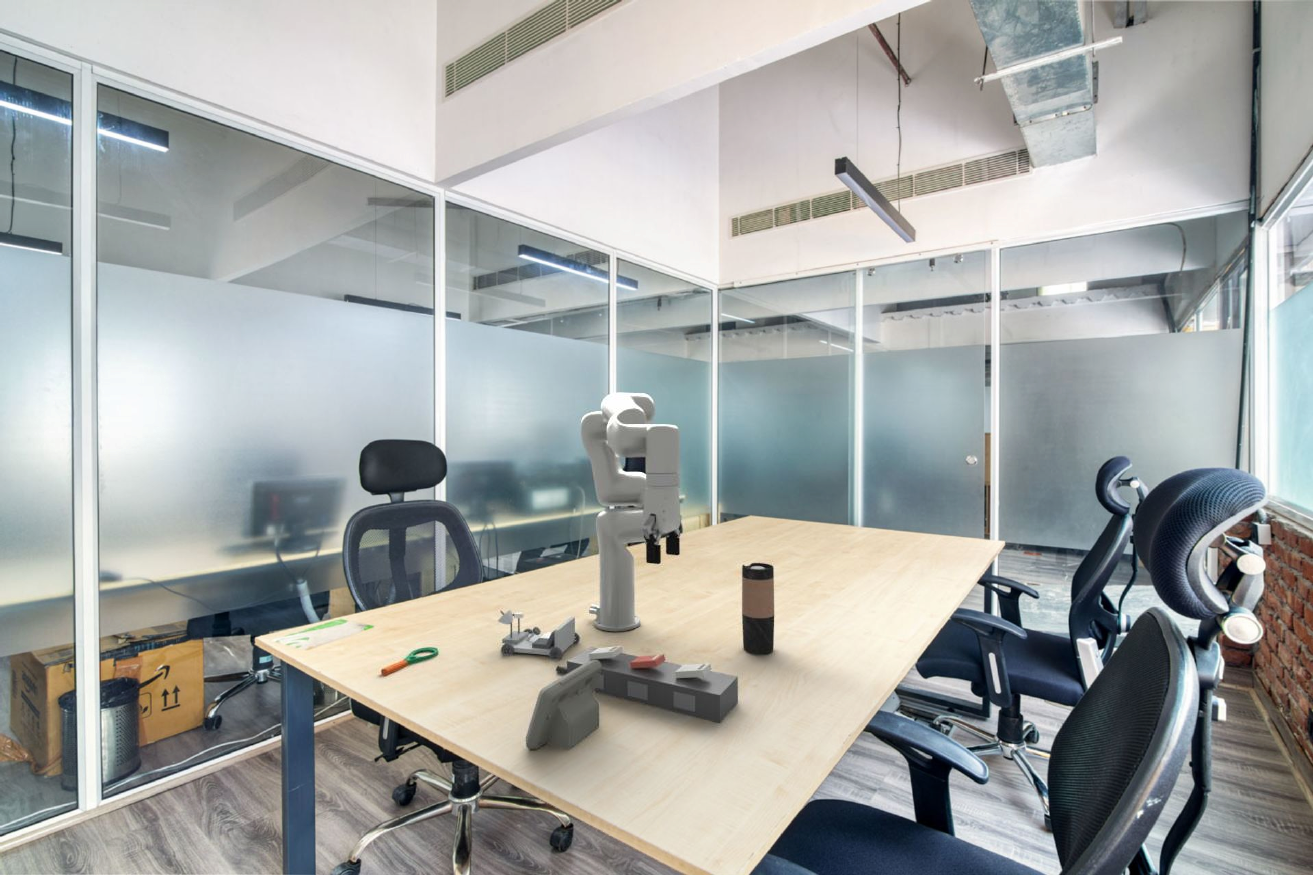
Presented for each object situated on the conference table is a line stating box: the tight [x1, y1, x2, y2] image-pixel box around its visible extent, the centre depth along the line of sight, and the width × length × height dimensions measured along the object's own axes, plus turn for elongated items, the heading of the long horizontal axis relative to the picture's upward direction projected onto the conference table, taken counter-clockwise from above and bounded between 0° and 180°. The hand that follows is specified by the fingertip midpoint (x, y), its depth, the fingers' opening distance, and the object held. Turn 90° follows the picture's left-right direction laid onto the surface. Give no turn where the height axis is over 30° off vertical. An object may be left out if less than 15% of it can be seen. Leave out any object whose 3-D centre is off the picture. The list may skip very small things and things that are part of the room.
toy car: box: [497, 609, 581, 661], centre depth 141 cm, size 18×10×12 cm
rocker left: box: [589, 645, 624, 660], centre depth 121 cm, size 6×4×1 cm, turn 61°
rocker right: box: [675, 663, 712, 678], centre depth 111 cm, size 6×4×1 cm, turn 61°
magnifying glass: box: [380, 646, 439, 676], centre depth 133 cm, size 15×6×2 cm, turn 159°
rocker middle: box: [630, 653, 666, 669], centre depth 116 cm, size 6×4×1 cm, turn 62°
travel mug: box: [741, 562, 775, 656], centre depth 139 cm, size 8×8×20 cm
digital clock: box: [525, 660, 601, 751], centre depth 101 cm, size 16×9×11 cm, turn 140°
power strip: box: [555, 646, 739, 724], centre depth 117 cm, size 40×9×5 cm, turn 61°
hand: (663, 558), depth 127 cm, fingers open, 9 cm apart
